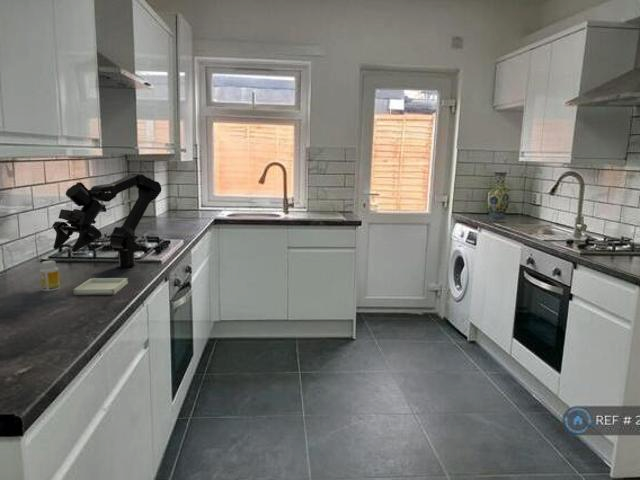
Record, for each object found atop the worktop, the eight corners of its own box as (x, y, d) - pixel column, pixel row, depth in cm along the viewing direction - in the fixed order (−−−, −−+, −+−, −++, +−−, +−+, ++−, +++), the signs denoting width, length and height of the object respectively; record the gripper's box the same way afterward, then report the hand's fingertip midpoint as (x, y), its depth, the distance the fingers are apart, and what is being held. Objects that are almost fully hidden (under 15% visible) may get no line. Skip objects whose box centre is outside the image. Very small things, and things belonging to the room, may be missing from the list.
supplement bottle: (39, 291, 161) (36, 264, 159) (46, 287, 166) (43, 260, 164) (56, 291, 161) (53, 263, 159) (63, 286, 167) (60, 259, 165)
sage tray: (91, 283, 171) (90, 278, 170) (128, 282, 171) (127, 278, 171) (74, 294, 158) (73, 289, 157) (114, 294, 158) (113, 289, 158)
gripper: (54, 198, 172) (28, 234, 164) (91, 201, 164) (65, 239, 157) (75, 217, 181) (51, 252, 173) (111, 221, 173) (88, 257, 165)
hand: (63, 250), depth 167 cm, fingers open, 9 cm apart
